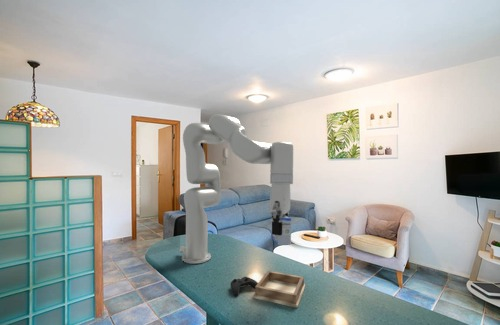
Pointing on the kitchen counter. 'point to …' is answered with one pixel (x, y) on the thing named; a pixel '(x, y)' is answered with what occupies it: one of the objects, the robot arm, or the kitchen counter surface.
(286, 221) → the medicine box
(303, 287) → the wooden tray
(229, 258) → the kitchen counter surface
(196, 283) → the kitchen counter surface
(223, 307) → the kitchen counter surface
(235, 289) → the gaming controller
